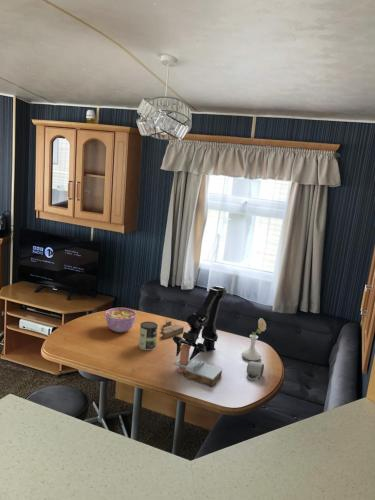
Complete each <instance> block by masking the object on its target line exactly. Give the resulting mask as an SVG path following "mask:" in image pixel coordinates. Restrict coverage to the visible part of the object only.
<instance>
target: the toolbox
mask: <svg viewBox="0 0 375 500" xmlns="http://www.w3.org/2000/svg"><path fill="white" fill-rule="evenodd" d="M222 374H223V370H222V371H221V372H220V373H219V374H218V375H217V377H216V378H215V379H214V380H211V379H208V378H205V377H202V376H199V375H197V374H194V373H191V372H188V371H185V372H184V376H183V377H184V378H186V379H188V380H191V381H194V382H197V383H200V384H202V385H205V386H208V387H210V388H213V387H214V386H215V385H216V384H217V382H219V381H220V379H221V378H222Z"/></svg>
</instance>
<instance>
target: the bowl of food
mask: <svg viewBox="0 0 375 500" xmlns="http://www.w3.org/2000/svg"><path fill="white" fill-rule="evenodd" d="M104 315H105V319H106V324H107V326H108V328H109V329H110V330H111V331H113V332H116V333H125V332H127V331H130V330H131V329H132V328H133V326H134V323H135V320H136V317H137V312H136V311H135V310H133V309H131V308H128V307H113V308H109V309H107V310H105V314H104Z"/></svg>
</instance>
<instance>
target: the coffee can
mask: <svg viewBox="0 0 375 500" xmlns="http://www.w3.org/2000/svg"><path fill="white" fill-rule="evenodd" d="M139 326H140V328H139V343H138V347H139V349H141V350H144V351H153V350H155V349H156V348H157V335H158V324H157V323H156V322H154V321H143V322H141V323H140V325H139Z"/></svg>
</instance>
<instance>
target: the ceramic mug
mask: <svg viewBox="0 0 375 500" xmlns="http://www.w3.org/2000/svg"><path fill="white" fill-rule="evenodd" d="M264 371H265V364H264V363H263V362H262V363H261V362H257V361H253V360H249V362H248V363H247V365H246V374H247V375H246V377H247V379H248V380H249V381H251V380H252V381H251V382H254V381H257V380H258V379H262V377H263V374H264ZM249 376H252V377H253V378H252V377H251V378H250V377H249Z"/></svg>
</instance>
